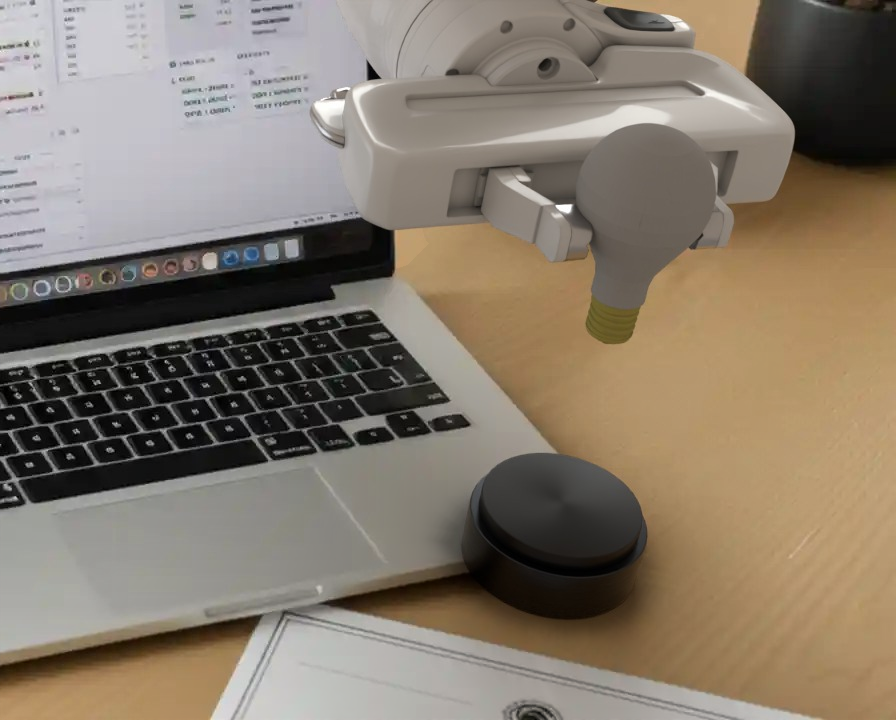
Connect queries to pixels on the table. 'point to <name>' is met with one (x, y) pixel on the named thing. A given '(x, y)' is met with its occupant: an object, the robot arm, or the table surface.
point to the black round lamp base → (554, 536)
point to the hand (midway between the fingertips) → (647, 240)
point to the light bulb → (639, 216)
